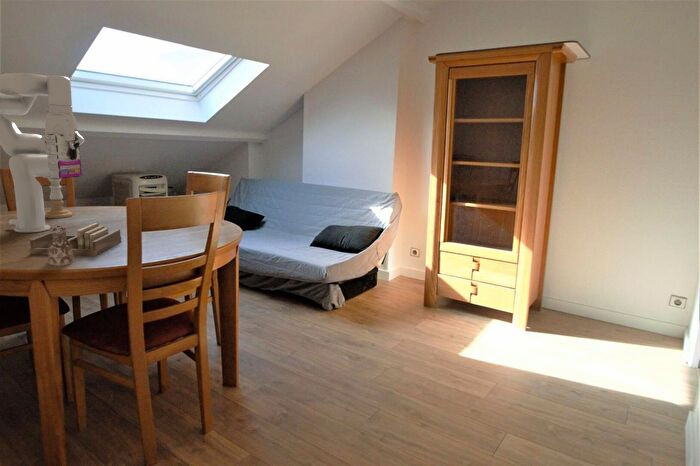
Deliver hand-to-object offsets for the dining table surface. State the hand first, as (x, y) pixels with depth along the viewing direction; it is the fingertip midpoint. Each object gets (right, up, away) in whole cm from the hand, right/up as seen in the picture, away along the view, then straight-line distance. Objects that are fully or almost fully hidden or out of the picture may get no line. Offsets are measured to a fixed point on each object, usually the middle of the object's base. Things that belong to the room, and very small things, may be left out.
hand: (64, 158), depth 178 cm
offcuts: (+14, -34, -5) cm, 37 cm away
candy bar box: (0, -7, +1) cm, 7 cm away
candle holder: (-33, -20, +49) cm, 62 cm away
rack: (+9, -34, -5) cm, 35 cm away
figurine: (+14, -38, -25) cm, 48 cm away
